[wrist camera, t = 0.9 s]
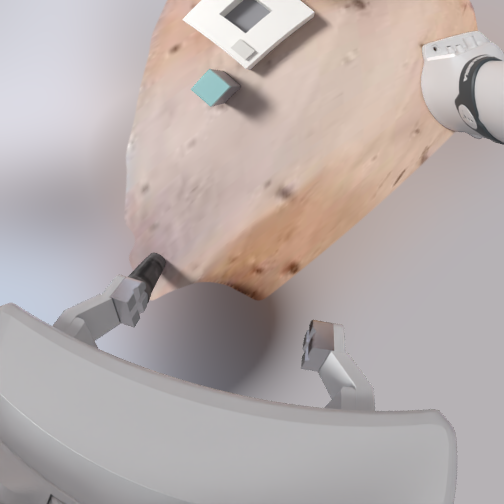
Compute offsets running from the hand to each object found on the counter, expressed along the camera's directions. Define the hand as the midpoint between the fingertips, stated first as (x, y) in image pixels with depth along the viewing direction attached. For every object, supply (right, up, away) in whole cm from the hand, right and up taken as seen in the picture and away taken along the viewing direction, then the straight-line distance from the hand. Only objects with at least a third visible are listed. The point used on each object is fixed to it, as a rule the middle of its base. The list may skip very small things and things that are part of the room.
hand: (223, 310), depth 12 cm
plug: (-3, +29, +25) cm, 38 cm away
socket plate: (+1, +39, +17) cm, 43 cm away
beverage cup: (-21, +1, +49) cm, 53 cm away
